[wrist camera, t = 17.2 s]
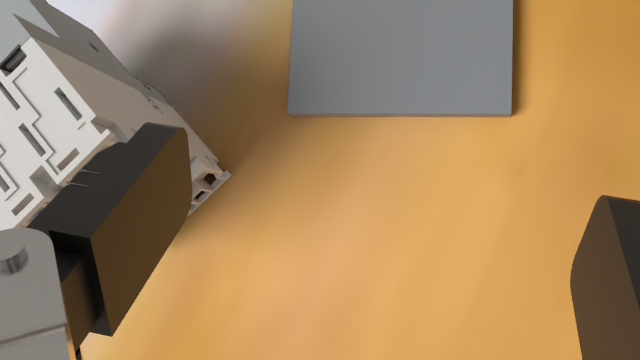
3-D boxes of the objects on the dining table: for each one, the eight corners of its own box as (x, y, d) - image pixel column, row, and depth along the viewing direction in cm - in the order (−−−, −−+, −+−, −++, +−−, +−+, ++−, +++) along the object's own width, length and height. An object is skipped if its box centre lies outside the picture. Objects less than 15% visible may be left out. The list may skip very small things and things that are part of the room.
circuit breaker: (108, 32, 44) (-58, -72, 30) (231, 175, 41) (114, 137, 27) (36, 104, 45) (-161, 36, 30) (153, 250, 42) (-5, 252, 27)
